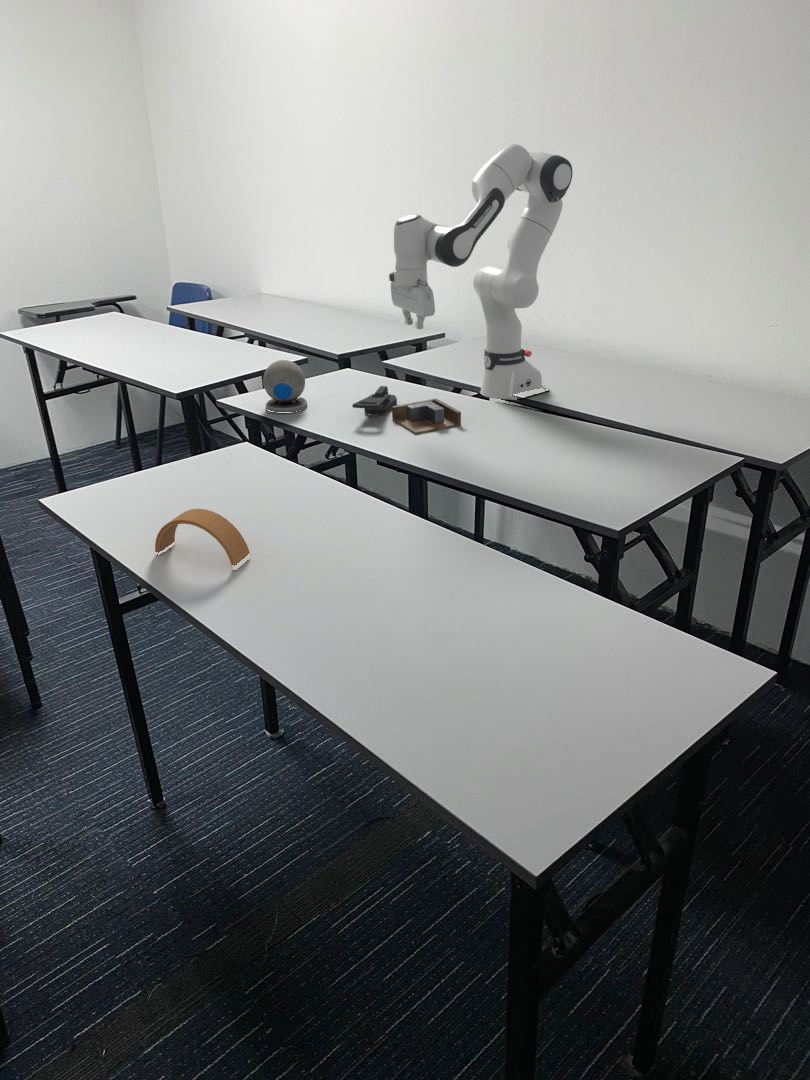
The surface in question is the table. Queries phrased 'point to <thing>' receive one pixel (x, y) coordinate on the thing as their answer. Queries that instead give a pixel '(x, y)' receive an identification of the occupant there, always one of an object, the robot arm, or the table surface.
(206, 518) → the arch
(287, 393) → the webcam
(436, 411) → the angle bracket
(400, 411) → the corner arena
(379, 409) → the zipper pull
